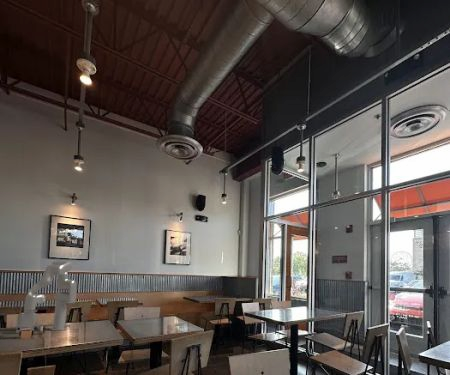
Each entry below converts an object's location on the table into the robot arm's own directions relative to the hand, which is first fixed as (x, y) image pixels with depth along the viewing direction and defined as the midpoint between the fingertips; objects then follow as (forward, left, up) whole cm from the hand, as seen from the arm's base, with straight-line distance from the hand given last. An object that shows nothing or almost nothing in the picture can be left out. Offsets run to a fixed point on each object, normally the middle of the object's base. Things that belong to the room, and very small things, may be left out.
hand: (26, 336), depth 265 cm
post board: (-4, -5, -2) cm, 7 cm away
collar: (0, 0, -1) cm, 1 cm away
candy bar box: (+3, -23, -3) cm, 23 cm away
